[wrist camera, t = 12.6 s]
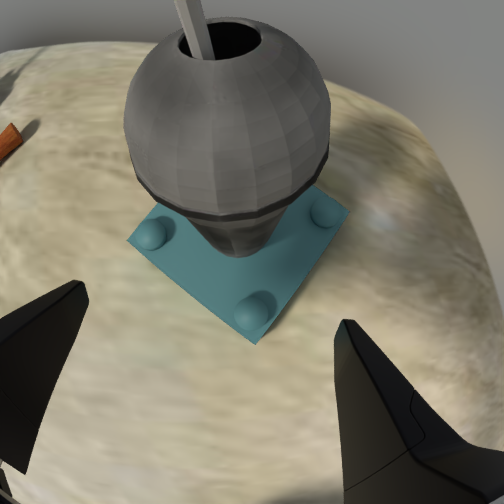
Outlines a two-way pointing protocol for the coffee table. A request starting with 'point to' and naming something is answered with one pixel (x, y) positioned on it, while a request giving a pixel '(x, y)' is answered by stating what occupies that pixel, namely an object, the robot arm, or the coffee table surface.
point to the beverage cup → (227, 126)
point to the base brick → (242, 260)
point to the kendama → (9, 140)
